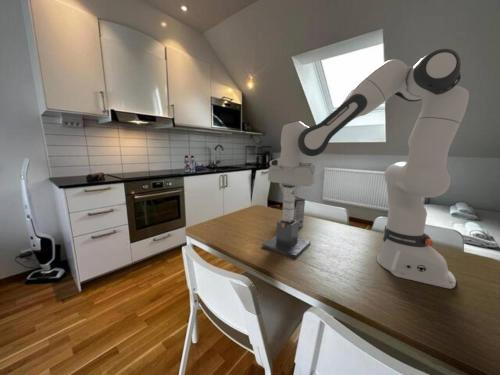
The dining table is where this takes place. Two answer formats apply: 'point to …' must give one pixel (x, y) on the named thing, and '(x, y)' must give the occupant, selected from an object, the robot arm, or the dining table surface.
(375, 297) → the dining table surface
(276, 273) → the dining table surface
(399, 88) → the robot arm
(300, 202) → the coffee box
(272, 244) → the stand base
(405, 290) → the dining table surface
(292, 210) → the column
